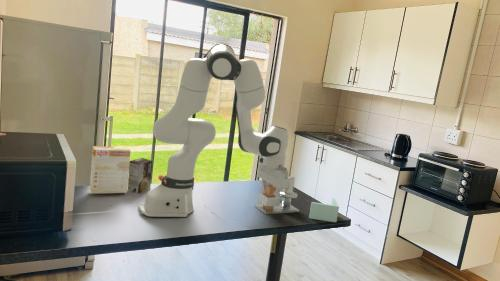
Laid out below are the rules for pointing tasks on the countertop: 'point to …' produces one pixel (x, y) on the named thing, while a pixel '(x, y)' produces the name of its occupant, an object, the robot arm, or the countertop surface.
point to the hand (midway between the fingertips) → (270, 192)
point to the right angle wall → (324, 211)
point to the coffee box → (139, 175)
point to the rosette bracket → (274, 201)
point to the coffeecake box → (109, 169)
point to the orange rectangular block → (269, 194)
